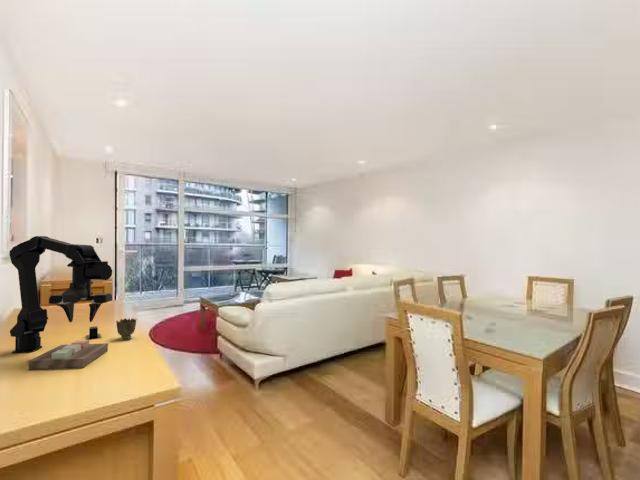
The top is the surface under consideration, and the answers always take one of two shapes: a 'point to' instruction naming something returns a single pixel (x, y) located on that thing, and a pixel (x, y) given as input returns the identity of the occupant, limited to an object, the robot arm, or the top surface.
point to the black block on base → (93, 333)
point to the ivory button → (73, 347)
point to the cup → (126, 328)
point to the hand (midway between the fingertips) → (80, 321)
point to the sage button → (61, 354)
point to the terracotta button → (83, 343)
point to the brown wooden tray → (73, 361)
